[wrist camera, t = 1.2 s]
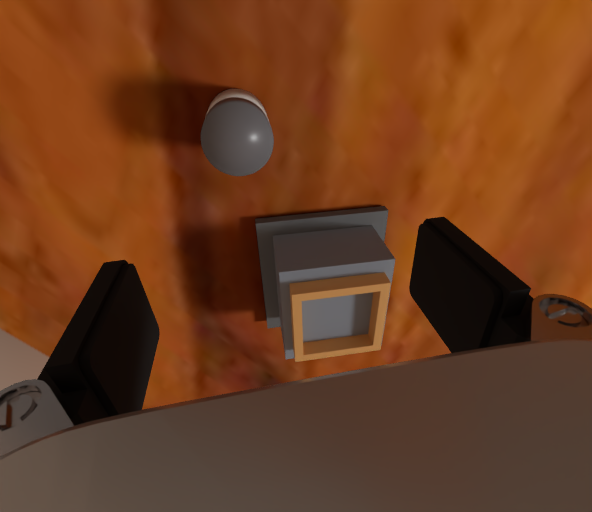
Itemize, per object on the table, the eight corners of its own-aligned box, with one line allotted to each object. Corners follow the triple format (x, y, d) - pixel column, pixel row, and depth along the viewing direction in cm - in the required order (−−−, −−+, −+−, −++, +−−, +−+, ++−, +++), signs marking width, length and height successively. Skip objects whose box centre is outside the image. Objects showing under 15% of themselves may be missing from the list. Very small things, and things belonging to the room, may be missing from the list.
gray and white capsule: (201, 90, 26) (193, 105, 21) (264, 86, 26) (270, 100, 21) (212, 152, 29) (207, 178, 24) (269, 148, 29) (275, 172, 24)
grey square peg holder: (255, 218, 33) (260, 270, 26) (384, 205, 34) (422, 252, 27) (267, 322, 40) (273, 383, 33) (371, 308, 42) (398, 364, 35)
